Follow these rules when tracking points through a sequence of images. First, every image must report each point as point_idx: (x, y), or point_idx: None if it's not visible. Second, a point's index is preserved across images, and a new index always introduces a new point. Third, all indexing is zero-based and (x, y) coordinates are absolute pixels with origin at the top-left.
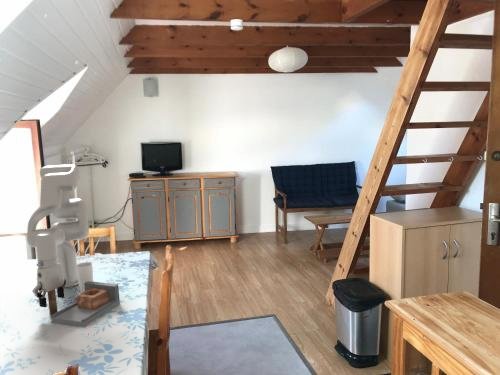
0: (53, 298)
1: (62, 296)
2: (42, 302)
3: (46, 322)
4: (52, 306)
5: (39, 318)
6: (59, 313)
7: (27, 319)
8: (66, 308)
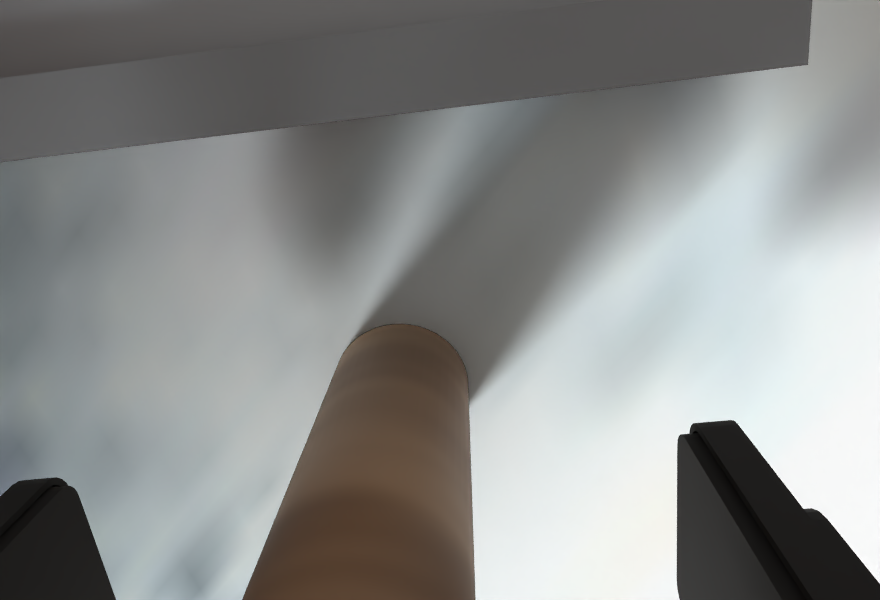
0: (390, 545)
1: (50, 522)
2: (859, 572)
3: (754, 180)
4: (445, 427)
5: (649, 443)
6: (590, 3)
7: None
8: (326, 37)
